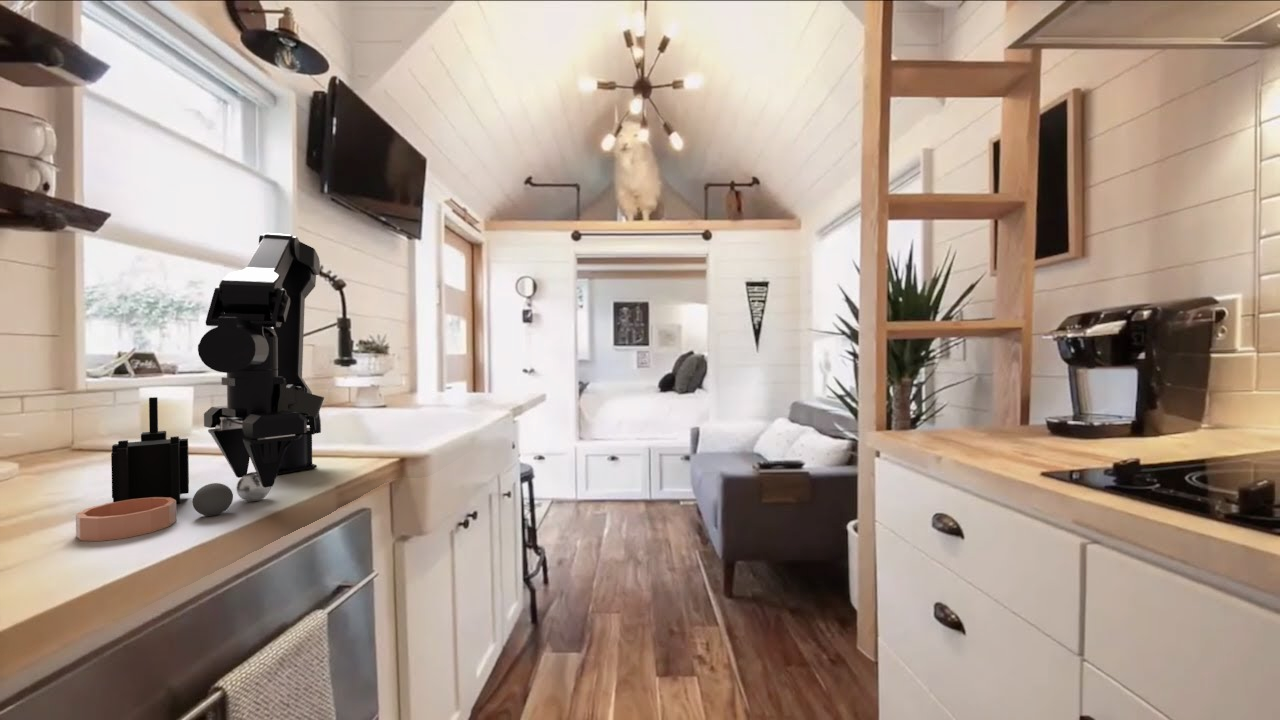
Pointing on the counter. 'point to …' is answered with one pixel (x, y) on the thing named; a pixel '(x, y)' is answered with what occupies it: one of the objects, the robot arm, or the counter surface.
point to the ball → (212, 499)
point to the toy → (150, 464)
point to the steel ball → (251, 488)
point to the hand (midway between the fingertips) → (254, 481)
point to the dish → (125, 518)
